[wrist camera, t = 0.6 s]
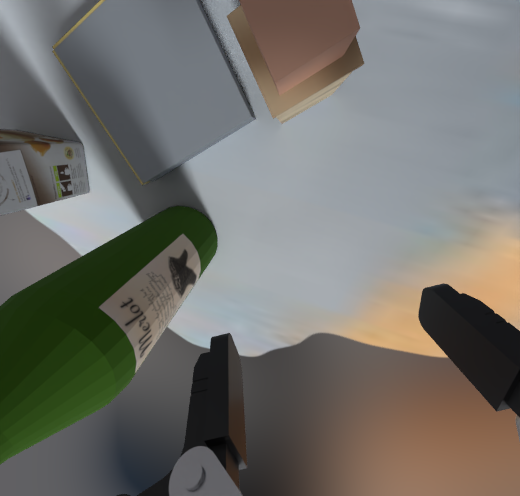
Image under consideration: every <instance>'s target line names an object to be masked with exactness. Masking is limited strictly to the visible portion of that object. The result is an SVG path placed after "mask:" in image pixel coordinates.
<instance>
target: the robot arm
mask: <svg viewBox="0 0 520 496" xmlns="http://www.w3.org/2000/svg"><path fill="white" fill-rule="evenodd" d="M419 321H420V323H421V325H422V327H423V328H424V330H425V331H426V332H427V333H428V334H429V335H430V337H431V338H432V339H433V340H434V341H435V342H436V343H437V344H438V346H439V347H440V348H441V349H442V350H443V351H444V352H445V354H446V355H447V356H448V357H449V358H450V359H451V360H452V361H453V363H454V364H455V365H456V366H457V367H458V368H459V369H460V371H461V372H462V373H463V374H464V375H465V376H466V377H467V379H468V380H469V381H470V382H471V383H472V384H473V385H474V386H475V388H476V389H477V390H478V391H479V392H480V393H481V394H482V395H483V397H484V398H485V399H486V400H487V401H488V402H489V403H490V405H491V406H492V407H493V408H494V409H495V410H496V411H500V410H505V409H509V408H511V409H512V410H513V411H514V412H515V413H516V414H517V416H516V425H517V430H518V435H519V440H520V331H519V330H518V329H516V328H515V327H514V326H512V325H511V324H510V323H507V322H506V320H505V319H503V318H502V317H501V316H499V315H498V314H495V313H494V311H493V310H492V309H490V308H489V307H488V306H487V305H485V304H484V303H483V302H481V301H480V300H477V299H475V298H473V297H471V296H469V295H467V294H464V293H463V294H459V293H458V292H457V291H456V290H455V289H453V288H452V287H451V286H449V285H448V284H440V285H435V286H431V287H427V288H424V289H423V291H422V297H421V302H420V308H419ZM245 468H247V452H246V433H245V415H244V397H243V379H242V367H241V361H240V357H239V354H238V351H237V349H236V346H235V344H234V341H233V339H232V336H231V334H230V333H227V334H223V335H219V336H215V337H212V338H211V345H210V352H208V353H203V354H201V355H200V357H199V359H198V361H197V363H196V365H195V367H194V373H193V384H192V389H191V397H190V405H189V413H188V421H187V428H186V436H185V444H184V448H183V451H182V454H181V456H180V458H179V460H178V461H177V463H176V465H175V466H174V468H173V469H172V470H171V471H170V473H168V474H167V475H166V476H165V477H164V478H163V479H162V480H160V481H158V482H157V483H155V484H154V485H153V486H151V487H149V488H148V489H146V490H145V491H143V492H142V493H140V494H139V495H137V496H243V495H242V493H241V492H240V490H239V470H241V469H245ZM117 496H130V495H127V494H121V495H117Z"/></svg>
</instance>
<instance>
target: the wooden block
mask: <svg viewBox="0 0 520 496" xmlns="http://www.w3.org/2000/svg"><path fill="white" fill-rule="evenodd" d="M227 18H228V20H229V22H230V24H231V27H232V29H233V31H234V33H235V35H236V38H237V40H238V42H239V44H240V46H241V49H242V51H243V53H244V55H245V57H246V60H247V62H248V64H249V66H250V68H251V71H252V73H253V75H254V77H255V79H256V82H257V84H258V86H259V88H260V91H261V93H262V95H263V97H264V99H265V102H266V104H267V106H268V108H269V110H270V113H271V115H272V117H273V118H275V117H277V119H278V120H279V121H280V122H281V123H282V124H283V123H284V122H286V121H288V120H290V119H291V118H293V117H295V116H296V115H298V114H300V113H302V112H303V111H305V110H307V109H308V108H310V107H312V106H313V105H315V104H317V103H319V102H320V101H322V100H324V99H325V98H327V97H329V96H331V95H332V94H333V93H334V92H335V90H336V89H337V88H338V87H339V86H340V85H341V84H342V83H343V81H344V80H345V79H346V78H347V77H348V76H349V75H350V74H351V72H352V71H354V70H355V69H357V68H359V67H360V66H362V65H363V64H364V61H363V58H362V55H361V52H360V48H359V45H358V42H357V39H356V36H355V37H354V39H353V41H352V42H351V44H350V45H349V47H348V49H347V50H346V52H345V54H344V55H343V56H342V57H341V58H339V59H338V60H336V61H334V62H333V63H331V64H330V65H328V66H326V67H325V68H323V69H322V70H320V71H318V72H317V73H315V74H314V75H312V76H310V77H309V78H307V79H306V80H304V81H302V82H301V83H299V84H297V85H296V86H294V87H293V88H291V89H289V90H288V91H286V92H285V93H283V94H281V95H280V96H279V93H278V91H277V89H276V86H275V84H274V82H273V80H272V77H271V75H270V73H269V70H268V68H267V66H266V63H265V61H264V59H263V57H262V54H261V52H260V50H259V47H258V45H257V43H256V40H255V38H254V36H253V33H252V31H251V29H250V27H249V24H248V22H247V19H246V17H245V14H244V12H243V9H242V7H241V5H240V6H239V7H238V8H236V9H235V10H234V11H233V12H231V13H230V14H229V15H227Z"/></svg>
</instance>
